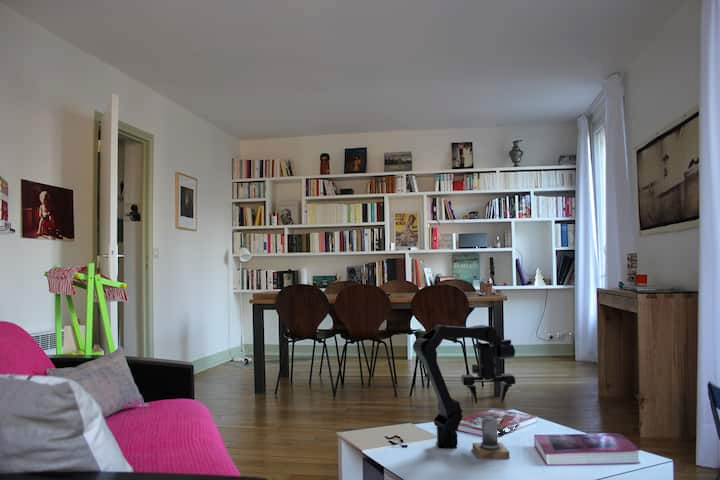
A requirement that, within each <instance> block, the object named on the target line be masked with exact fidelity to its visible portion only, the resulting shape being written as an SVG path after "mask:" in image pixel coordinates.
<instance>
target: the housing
mask: <svg viewBox="0 0 720 480" xmlns="http://www.w3.org/2000/svg"><path fill="white" fill-rule="evenodd" d="M496 419H497V418H494V416H493V415H485V417H483V418H482V419H481V434H482V435H481V436H482V437H481V442H480V443H481V448H483V449H487V450H496V449H499V448H500V446H499V443H498V442H499V440H498V435H497V420H496Z"/></svg>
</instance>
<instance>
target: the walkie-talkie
mask: <svg viewBox="0 0 720 480" xmlns="http://www.w3.org/2000/svg"><path fill="white" fill-rule="evenodd" d="M495 419H496V420H497V430H498V431H499V432H500V433H498V435H500V436H503V435H505V434H506V433H505V430H504V431H503V429H504V428H505V427H506V426H507V423H508V422H509V421H507V420H505V418H504V417H503V418H502V417H497V418H495ZM507 428H508V429H510V431H513V428H514V425H513V426H510V427H507ZM513 432H514V431H513ZM498 435H497V436H498ZM500 436H499V437H500Z"/></svg>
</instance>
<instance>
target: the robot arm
mask: <svg viewBox="0 0 720 480" xmlns="http://www.w3.org/2000/svg"><path fill="white" fill-rule="evenodd" d="M445 337H448V338H466V339H467V338H468V339H473V340H478V341H477V342H476V343H475V344H474V345H473V346H472V348H474V349H478V364H471V372H472V374H473V375H474V374H476V375H477V377H476V376H473V375H472V374H462V375H461V376H460V383H461V384H462V385H463V386H466V387H467V389H469V390H470V392H471V396H472V398H473V401H474V403H475V405H478V396H477V388H476V385H475V383H496V382H497V383H499V384H500V392H499V393H500V399H499V401H500V404H503V402H504V399H505V398H506V394H507V392H508V390H509V389H510V387H512V386H513V385H516V377H515V376H514V375H513V374H511V373H501V374H500V375H499V376H497V374H496V373H497V372H496V371H497V370H496V368H497V367H496V366H497V365H496V359H497V360H503V359H513V358H514V357H515V356H516V349H515V346H514V345H513V343H512V340H511V339H501V338H500V336H499V335H498V333H497V330H496V328H495V327H494V326H490V325H484V324H478V325H473V326H468V327H467V326H456V325H455V326H452V325H442V324H436V325H434V327H432V329H430V330H429V331H427V332H425V333H424V334H423V335H422V336H421V337H418V338H417V339H415V341H414V342H413V344H412V348H413V351H414V352H415V354H416V356H417V358H418V359H419V360H420V362H421V363H422V364H423V365H424V367H425V371H426V372H427V375H428V377H429V381H430V383H431V385H432V387H433V391H434V393H435V396H436V398H437V401H438V403H437V409H438V413H437V415H436V416H435V417H434V419H433V424H434V426H436V441H435V444H436V447H438V449H440V450H441V449H458V444H459V443H458V432H457V431H458V430H459V426H460V423H461V421H462V420H463V412H464V411H463V410H462V408H461V405H460V401H458V400H456V399H455V398H452V396H451V394H450V392H449V389H448V387H447V385H446V382H445V380H444V377H443V373H442V372H441V369H440V366H439V363H438V352H437V348H439V346H440V345H441V343H442V342H443V339H444V338H445ZM481 341H482V342H483V343H482V342H481Z"/></svg>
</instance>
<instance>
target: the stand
mask: <svg viewBox="0 0 720 480" xmlns="http://www.w3.org/2000/svg"><path fill="white" fill-rule="evenodd" d="M498 443H499V446H500V448H499V449H496V450H487V449H483V448H481V442H472V450H473V452H474V454H476V456H477V458H478V459H480V460H481V459H484V460H485V459H510V451H509V450H508V449H507V447H506V446H505V445H504V443H502V442H500V441H498Z"/></svg>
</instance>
